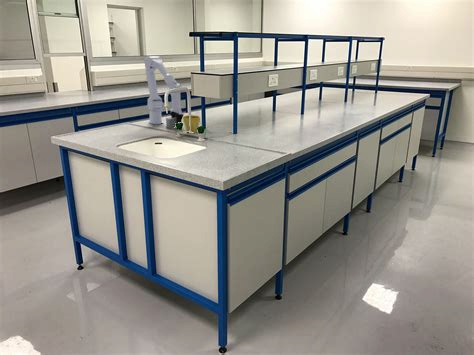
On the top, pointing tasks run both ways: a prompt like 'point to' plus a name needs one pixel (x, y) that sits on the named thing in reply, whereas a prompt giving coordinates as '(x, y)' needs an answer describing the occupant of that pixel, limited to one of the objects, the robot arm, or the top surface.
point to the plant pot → (194, 122)
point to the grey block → (171, 122)
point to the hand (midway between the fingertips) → (176, 123)
